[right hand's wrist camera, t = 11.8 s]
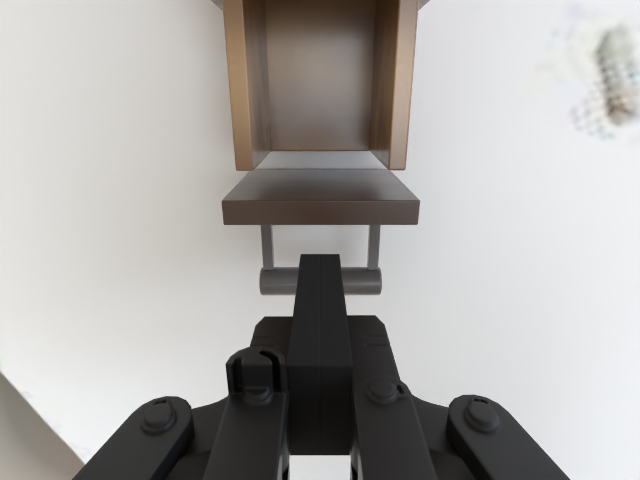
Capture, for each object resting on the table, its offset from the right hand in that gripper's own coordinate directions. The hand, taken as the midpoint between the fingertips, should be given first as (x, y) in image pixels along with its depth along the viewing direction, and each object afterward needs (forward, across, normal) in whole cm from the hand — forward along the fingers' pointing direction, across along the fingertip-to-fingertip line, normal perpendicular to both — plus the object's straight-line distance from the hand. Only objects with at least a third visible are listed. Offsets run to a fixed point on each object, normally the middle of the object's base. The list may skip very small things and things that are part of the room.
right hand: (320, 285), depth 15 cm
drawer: (+12, 0, -7) cm, 14 cm away
